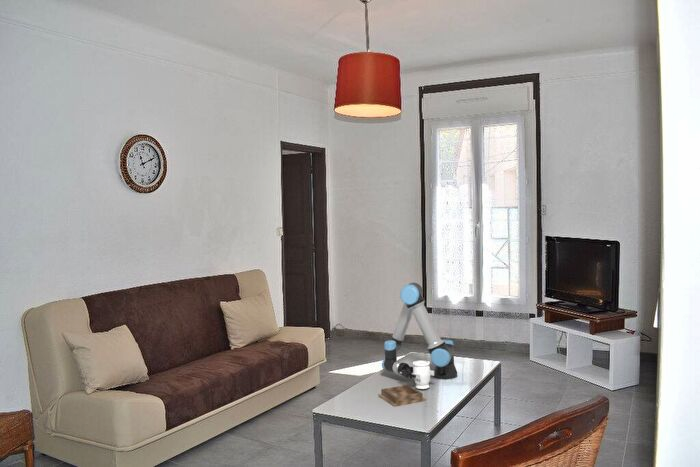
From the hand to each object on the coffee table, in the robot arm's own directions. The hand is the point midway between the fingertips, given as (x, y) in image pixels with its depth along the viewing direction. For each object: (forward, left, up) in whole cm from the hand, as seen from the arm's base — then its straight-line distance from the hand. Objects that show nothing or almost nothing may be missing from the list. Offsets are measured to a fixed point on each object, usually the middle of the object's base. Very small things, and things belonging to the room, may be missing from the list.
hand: (427, 375), depth 324 cm
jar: (+1, -4, -8) cm, 9 cm away
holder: (+20, +5, -9) cm, 23 cm away
